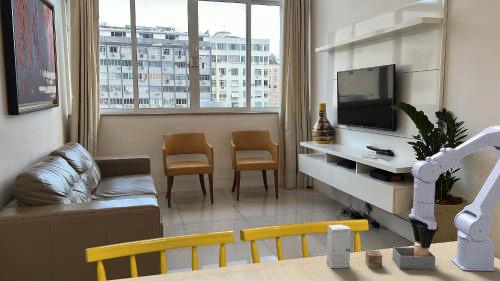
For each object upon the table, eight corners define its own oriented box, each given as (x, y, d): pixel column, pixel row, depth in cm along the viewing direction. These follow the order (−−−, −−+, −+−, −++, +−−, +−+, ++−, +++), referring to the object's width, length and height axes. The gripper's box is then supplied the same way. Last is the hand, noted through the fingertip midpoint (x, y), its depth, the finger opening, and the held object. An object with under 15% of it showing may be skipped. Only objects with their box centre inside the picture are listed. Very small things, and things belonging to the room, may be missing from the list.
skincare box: (331, 268, 113) (331, 229, 112) (326, 262, 118) (326, 224, 117) (350, 267, 114) (351, 228, 113) (344, 261, 119) (345, 223, 117)
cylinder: (424, 260, 118) (425, 241, 117) (430, 266, 114) (431, 246, 113) (411, 260, 118) (412, 241, 118) (416, 265, 114) (417, 246, 114)
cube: (378, 262, 118) (378, 250, 117) (381, 268, 114) (382, 255, 113) (365, 262, 118) (365, 250, 118) (368, 268, 114) (368, 255, 114)
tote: (425, 260, 119) (425, 247, 119) (434, 269, 113) (435, 257, 112) (392, 259, 120) (392, 247, 120) (399, 269, 113) (400, 256, 113)
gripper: (402, 194, 122) (400, 235, 123) (419, 207, 107) (417, 253, 109) (424, 195, 121) (423, 236, 122) (445, 207, 107) (442, 254, 108)
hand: (422, 244), depth 116 cm, fingers open, 5 cm apart
